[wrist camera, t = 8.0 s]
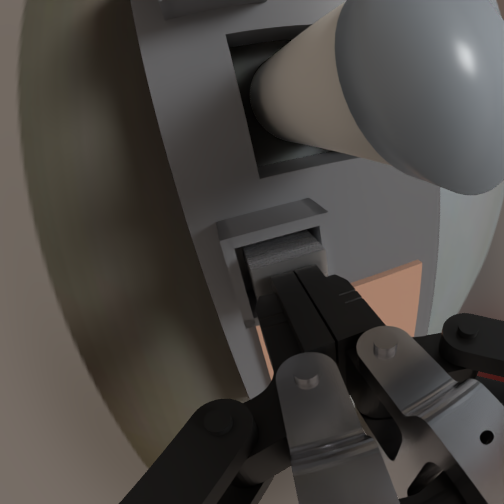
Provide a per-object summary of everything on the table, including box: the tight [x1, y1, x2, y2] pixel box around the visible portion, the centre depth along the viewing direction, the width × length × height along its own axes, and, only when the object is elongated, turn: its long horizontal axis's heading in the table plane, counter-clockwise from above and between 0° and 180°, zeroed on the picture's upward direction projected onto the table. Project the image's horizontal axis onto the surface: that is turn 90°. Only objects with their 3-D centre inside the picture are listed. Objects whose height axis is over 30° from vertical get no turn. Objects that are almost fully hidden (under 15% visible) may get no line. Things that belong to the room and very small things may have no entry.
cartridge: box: [250, 0, 504, 195], centre depth 8 cm, size 5×5×10 cm
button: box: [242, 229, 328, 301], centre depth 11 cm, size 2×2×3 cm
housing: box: [130, 0, 440, 399], centre depth 12 cm, size 25×12×4 cm, turn 13°
